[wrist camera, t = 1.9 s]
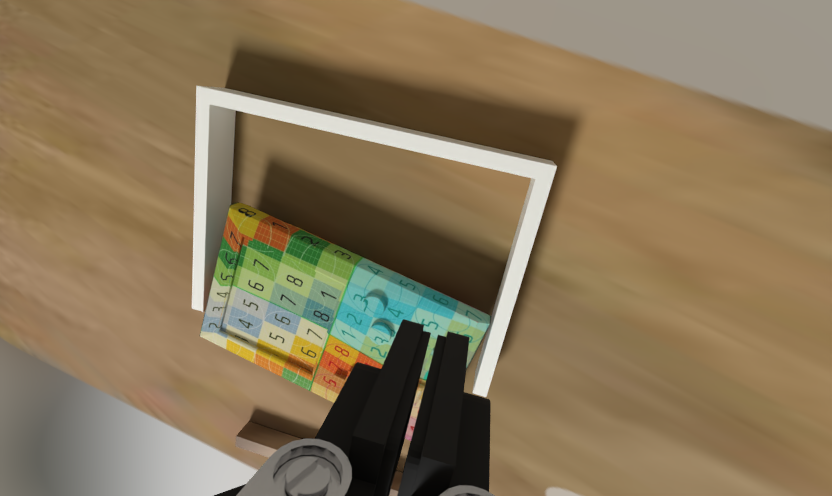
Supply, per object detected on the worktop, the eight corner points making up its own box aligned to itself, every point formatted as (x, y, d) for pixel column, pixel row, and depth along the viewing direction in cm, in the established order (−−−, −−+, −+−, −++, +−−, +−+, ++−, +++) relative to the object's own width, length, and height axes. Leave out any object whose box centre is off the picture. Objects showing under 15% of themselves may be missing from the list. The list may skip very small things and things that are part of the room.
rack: (552, 160, 28) (557, 166, 26) (488, 373, 34) (486, 397, 31) (224, 87, 32) (196, 85, 29) (215, 293, 37) (191, 308, 34)
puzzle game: (424, 455, 32) (191, 341, 34) (434, 414, 37) (228, 315, 38) (489, 330, 28) (221, 207, 30) (492, 301, 33) (258, 195, 34)
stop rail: (410, 475, 39) (404, 493, 37) (407, 484, 39) (402, 503, 37) (248, 421, 41) (236, 436, 39) (248, 431, 41) (235, 446, 39)
